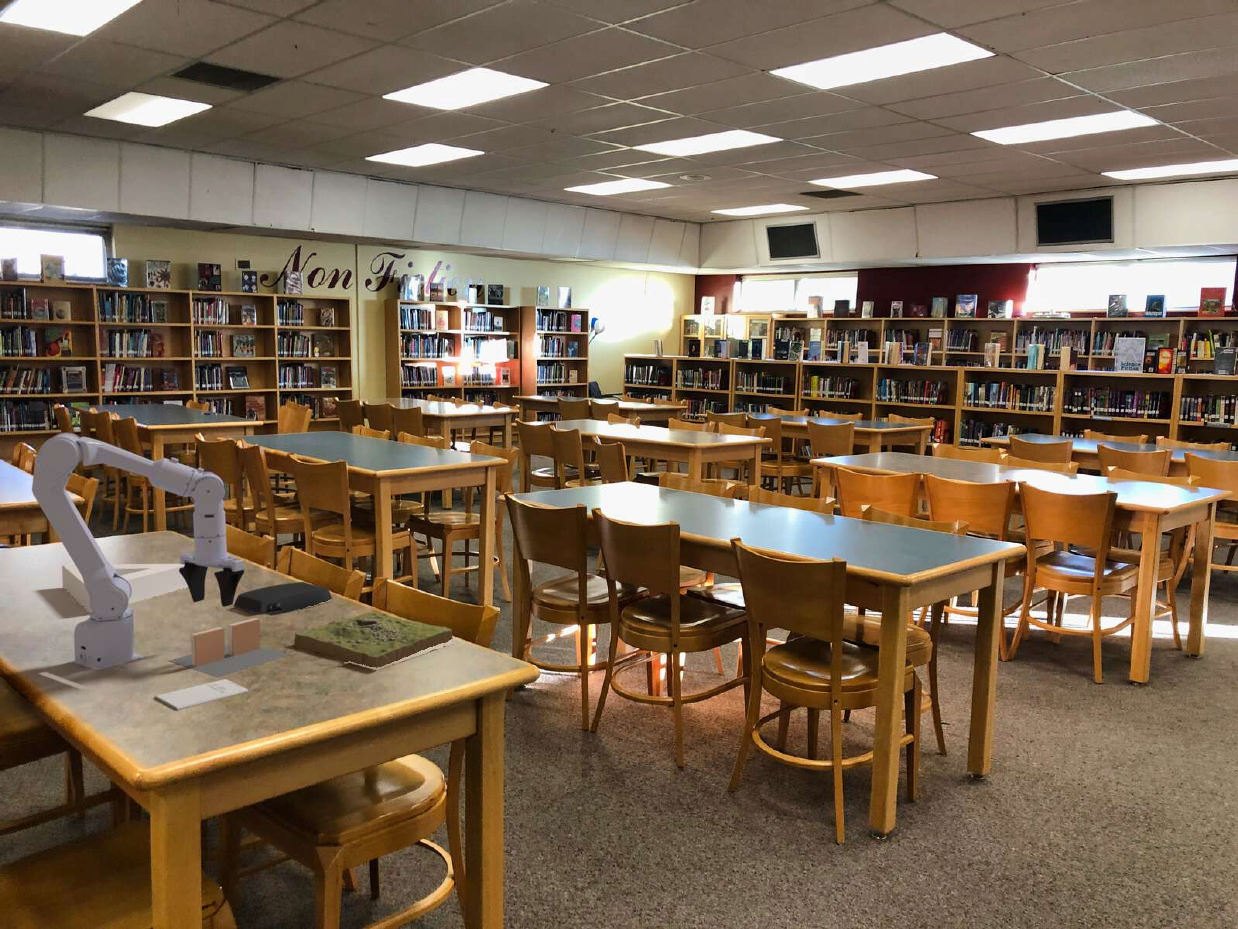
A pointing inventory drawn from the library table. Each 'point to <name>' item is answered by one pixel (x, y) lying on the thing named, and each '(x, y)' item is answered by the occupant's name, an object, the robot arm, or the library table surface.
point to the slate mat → (233, 661)
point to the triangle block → (130, 581)
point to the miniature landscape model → (372, 638)
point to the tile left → (207, 646)
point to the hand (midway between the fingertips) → (212, 603)
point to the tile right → (244, 636)
